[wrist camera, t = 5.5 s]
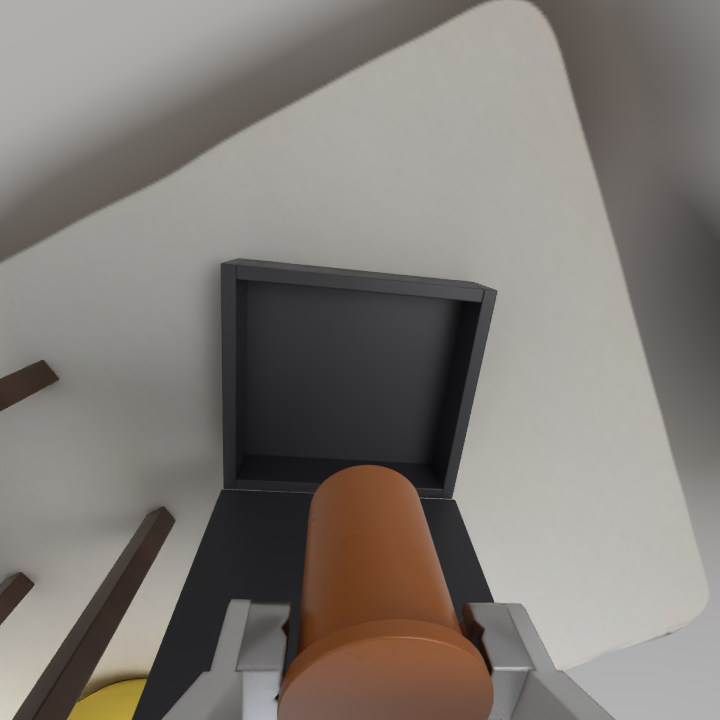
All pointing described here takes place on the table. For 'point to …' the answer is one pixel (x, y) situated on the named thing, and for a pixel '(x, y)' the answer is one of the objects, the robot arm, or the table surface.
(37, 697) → the shelf legs
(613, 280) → the table surface
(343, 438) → the hinged lid box
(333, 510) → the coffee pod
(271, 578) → the lid
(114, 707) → the teapot
